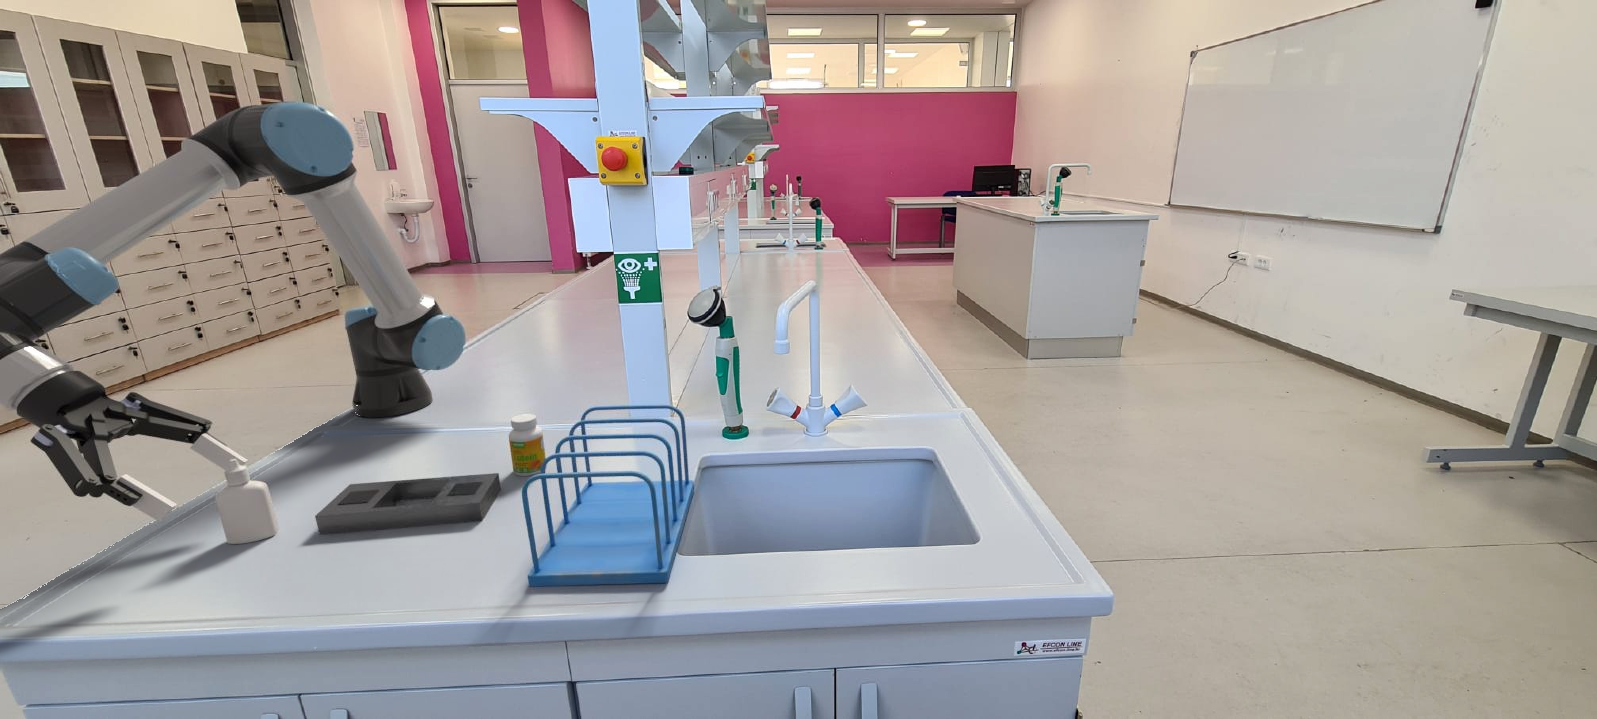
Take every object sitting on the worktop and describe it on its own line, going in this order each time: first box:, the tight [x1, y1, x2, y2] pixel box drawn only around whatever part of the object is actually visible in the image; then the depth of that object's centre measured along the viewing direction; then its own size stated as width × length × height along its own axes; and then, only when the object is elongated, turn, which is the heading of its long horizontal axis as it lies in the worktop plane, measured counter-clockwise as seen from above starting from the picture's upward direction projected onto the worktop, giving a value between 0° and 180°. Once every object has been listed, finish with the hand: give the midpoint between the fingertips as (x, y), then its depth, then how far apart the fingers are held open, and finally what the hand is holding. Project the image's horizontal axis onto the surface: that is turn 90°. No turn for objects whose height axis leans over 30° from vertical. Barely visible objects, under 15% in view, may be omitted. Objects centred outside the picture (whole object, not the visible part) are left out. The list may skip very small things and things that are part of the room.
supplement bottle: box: [508, 413, 547, 477], centre depth 111 cm, size 5×5×10 cm
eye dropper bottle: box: [214, 459, 279, 545], centre depth 91 cm, size 4×6×12 cm
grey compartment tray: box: [314, 472, 502, 536], centre depth 99 cm, size 10×22×3 cm, turn 99°
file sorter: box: [521, 404, 695, 587], centre depth 91 cm, size 25×17×15 cm
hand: (207, 488), depth 89 cm, fingers open, 13 cm apart
